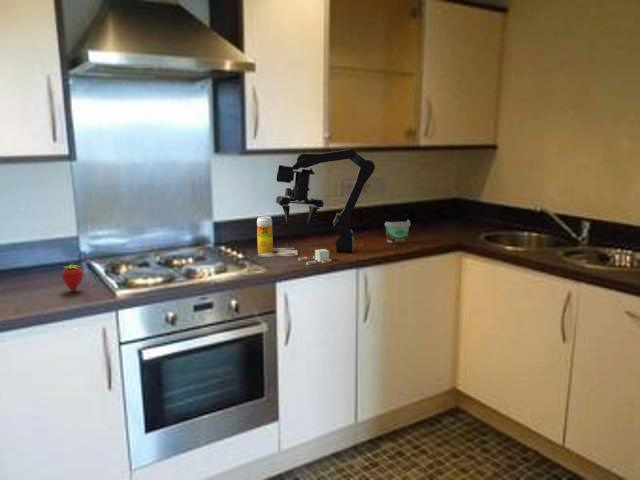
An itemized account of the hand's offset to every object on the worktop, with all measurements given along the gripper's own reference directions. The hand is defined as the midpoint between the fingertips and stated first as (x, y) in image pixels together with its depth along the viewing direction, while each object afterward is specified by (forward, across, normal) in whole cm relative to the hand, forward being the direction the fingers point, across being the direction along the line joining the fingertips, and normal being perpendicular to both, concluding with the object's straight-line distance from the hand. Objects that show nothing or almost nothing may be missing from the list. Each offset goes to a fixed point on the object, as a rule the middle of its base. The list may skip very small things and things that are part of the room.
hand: (297, 222), depth 226 cm
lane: (+13, +8, 0) cm, 15 cm away
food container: (+7, -48, +2) cm, 48 cm away
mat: (+13, +4, +1) cm, 13 cm away
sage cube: (+11, -5, +19) cm, 22 cm away
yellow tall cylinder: (+14, +12, -1) cm, 19 cm away
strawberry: (+20, +82, +29) cm, 89 cm away
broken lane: (+11, -2, +19) cm, 22 cm away
